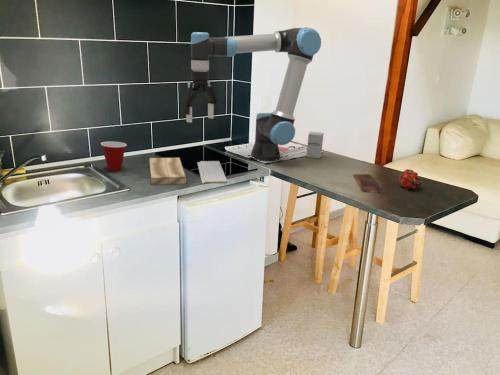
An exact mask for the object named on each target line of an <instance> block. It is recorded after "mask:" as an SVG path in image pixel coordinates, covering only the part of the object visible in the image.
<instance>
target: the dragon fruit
mask: <svg viewBox="0 0 500 375" xmlns="http://www.w3.org/2000/svg"><path fill="white" fill-rule="evenodd" d="M398 180H399V181H398V184H399V186H402V187H403V189H405V190H410V188H411V189H415V188H416V187H419V186H421V185H422V182H421V180H420V176H419V174H418V172H415V171H414V169H409V168H408V169H404V170H403V171H401V173H400V174H399V177H398Z"/></svg>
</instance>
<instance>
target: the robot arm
mask: <svg viewBox="0 0 500 375" xmlns="http://www.w3.org/2000/svg"><path fill="white" fill-rule="evenodd" d="M321 46H322V38H321V36H320V33H319V32H318V31H317V30H316V29H314V28H311V27H294V28H289V29H285V30H284V29H283V30H276V31H274V32H273V33H265V34H264V33H263V34H261V33H260V34H251V35H236V36H235V35H234V36H219V37H211V36H210V33H208V32H199V31H197V32H196V31H193V32H192V33H191V35H190V57H191V58H190V68H191V72H190V74H191V75H190V76H191V77H190V78H191V79H190V80H192V82H186V89H185V91H184V95H183V97H182V100H181V106H183V107H184V108H185V118H186V123H193V107H192V104H193V103H194V100H196V99H195V98H196V97H197V95H199V94H201V93H202V94H204V97H205V98H206V100H207V102H208V103H207V118H208V119H214V113H215V112H214V111H215V105H216V104H217V102H218V101H219V99H218V97H217V94H216V91H215V89H214V88H215V87H214V81H210V80H209V79H210V71H209V70H210V59H209V58H210V57H221V58H222V57H226V58H229V57H231V58H232V57H235V56H236V55H237V54H245V53H259V52H273V51H274V52H275V53H287V57H288V60H289V61H288V64H287V67H286V72H285V75H284V78H283V82H282V84H281V89H280V92H279V97H278V101H277V104H276V108H275V109H274V110H273V111H272V112H258V113H257V114H256V117H255V135H254V136H255V137H254V138H255V140H254V144H253V146H252V149H251V152H250V157H251V156H252V157H254V158H256V159H255V160H257V159H259V160H258V161H264V160H267V161H269V162H270V160H273V161H277V160H276V159H278V160H279V158H280V159H281V152H280V148H279V146H284V145H288V144H289V143H291V141H293V140H294V137H295V136H296V128H295V126H294V124H295V121H296V118H295V117H294V112H295V110H296V105H297V101H298V98H299V95H300V91H301V89H302V85H303V81H304V78H305V75H306V71H307V67H308V64H310V63H312V62H313V58H314V56H315V55H316V54H317V53H319V51H320V49H321ZM252 157H251V158H252ZM254 158H253V159H254Z"/></svg>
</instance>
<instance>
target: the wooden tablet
mask: <svg viewBox="0 0 500 375" xmlns="http://www.w3.org/2000/svg"><path fill="white" fill-rule="evenodd" d="M353 179H354V180H355V182H356V183H357V185H358V187H359V189H360V188H361V189H360V190H361V191H362V192H363V193H374V192H376V193H375V194H381V193H384V194H385V193H386V190H385V189H384V187H382V185H381V184H380V183H379V182H378V181H377V180H376V179H375V177H373V176H372V175H371V174H369V173H368V174H366V173H364V174H363V173H362V174H359V173H358V174H353ZM371 191H373V192H371Z"/></svg>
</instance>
